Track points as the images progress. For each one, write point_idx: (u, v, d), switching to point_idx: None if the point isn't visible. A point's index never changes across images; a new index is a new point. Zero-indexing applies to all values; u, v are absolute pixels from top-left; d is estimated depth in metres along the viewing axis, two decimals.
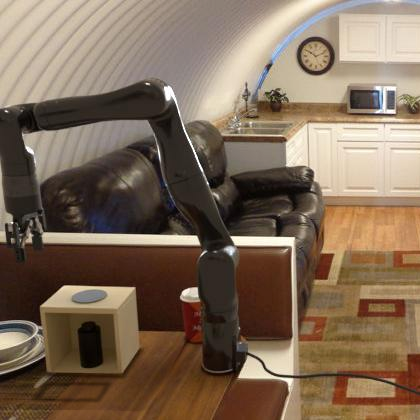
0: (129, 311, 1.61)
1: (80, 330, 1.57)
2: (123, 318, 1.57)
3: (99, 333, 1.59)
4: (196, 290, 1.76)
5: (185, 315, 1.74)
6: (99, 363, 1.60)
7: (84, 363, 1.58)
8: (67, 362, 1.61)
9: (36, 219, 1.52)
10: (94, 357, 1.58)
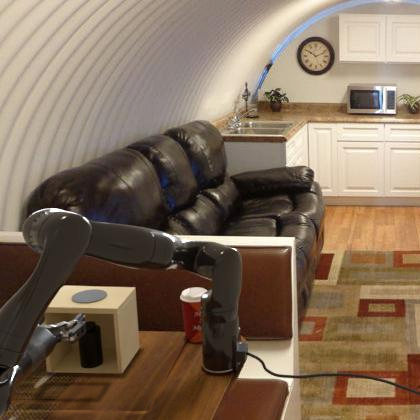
0: (129, 311, 1.61)
1: None
2: (123, 318, 1.57)
3: (99, 333, 1.59)
4: (196, 290, 1.76)
5: (185, 315, 1.74)
6: (99, 363, 1.60)
7: (84, 363, 1.58)
8: (67, 362, 1.61)
9: None
10: (94, 357, 1.58)
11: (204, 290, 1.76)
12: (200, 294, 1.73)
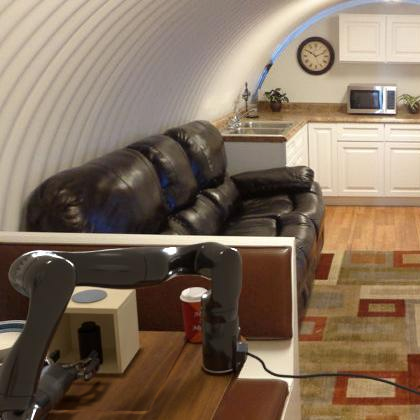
0: (129, 311, 1.61)
1: (80, 330, 1.57)
2: (123, 318, 1.57)
3: (99, 333, 1.59)
4: (196, 290, 1.76)
5: (185, 315, 1.74)
6: (99, 363, 1.60)
7: None
8: (67, 362, 1.61)
9: (53, 365, 1.43)
10: None
11: (204, 290, 1.76)
12: (200, 294, 1.73)
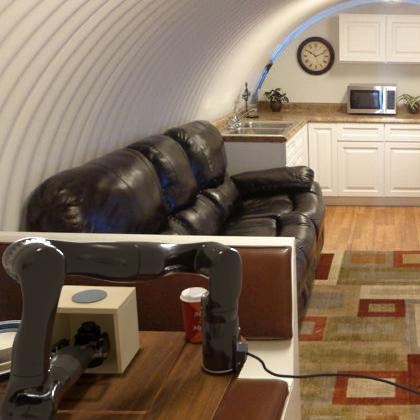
0: (129, 311, 1.61)
1: (80, 330, 1.57)
2: (123, 318, 1.57)
3: (99, 333, 1.59)
4: (196, 290, 1.76)
5: (185, 315, 1.74)
6: (99, 363, 1.60)
7: None
8: None
9: (71, 346, 1.52)
10: None
11: (204, 290, 1.76)
12: (200, 294, 1.73)
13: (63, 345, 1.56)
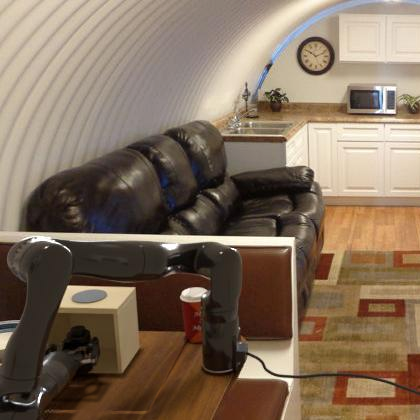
0: (129, 311, 1.61)
1: (69, 334, 1.51)
2: (123, 318, 1.57)
3: (89, 338, 1.52)
4: (196, 290, 1.76)
5: (185, 315, 1.74)
6: (89, 369, 1.54)
7: None
8: None
9: None
10: None
11: (204, 290, 1.76)
12: (200, 294, 1.73)
13: (51, 350, 1.50)
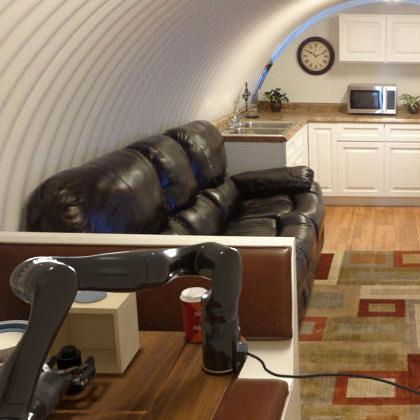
0: (129, 311, 1.61)
1: (59, 355, 1.46)
2: (123, 318, 1.57)
3: (79, 358, 1.48)
4: (196, 290, 1.76)
5: (185, 315, 1.74)
6: (80, 390, 1.49)
7: None
8: None
9: (49, 371, 1.41)
10: None
11: (204, 290, 1.76)
12: (200, 294, 1.73)
13: None
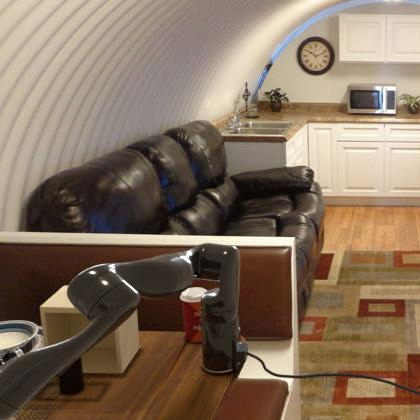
0: None
1: None
2: None
3: (79, 358, 1.48)
4: (196, 290, 1.76)
5: (185, 315, 1.74)
6: (80, 390, 1.49)
7: (64, 390, 1.47)
8: None
9: None
10: (74, 384, 1.47)
11: (204, 290, 1.76)
12: (200, 294, 1.73)
13: (6, 357, 1.31)
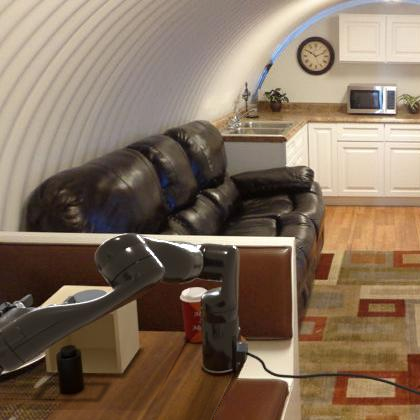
0: (129, 311, 1.61)
1: (59, 355, 1.46)
2: (123, 318, 1.57)
3: (79, 358, 1.48)
4: (196, 290, 1.76)
5: (185, 315, 1.74)
6: (80, 390, 1.49)
7: (64, 390, 1.47)
8: None
9: None
10: (74, 384, 1.47)
11: (204, 290, 1.76)
12: (200, 294, 1.73)
13: (6, 310, 1.28)
